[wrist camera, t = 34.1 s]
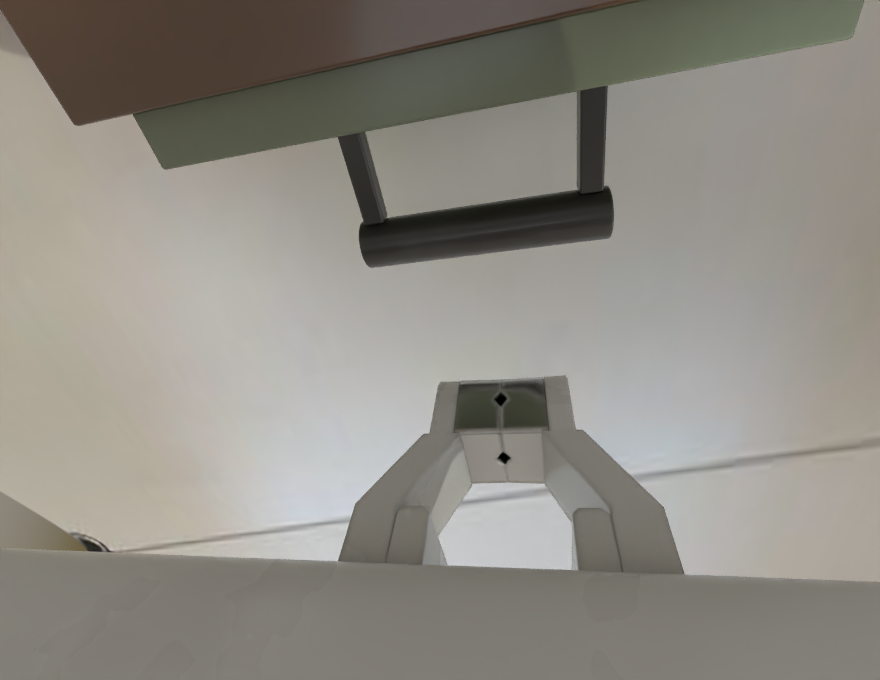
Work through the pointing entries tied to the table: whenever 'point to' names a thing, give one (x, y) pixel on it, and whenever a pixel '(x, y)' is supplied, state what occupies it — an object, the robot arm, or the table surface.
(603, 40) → the drawer
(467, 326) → the table surface
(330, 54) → the cabinet
